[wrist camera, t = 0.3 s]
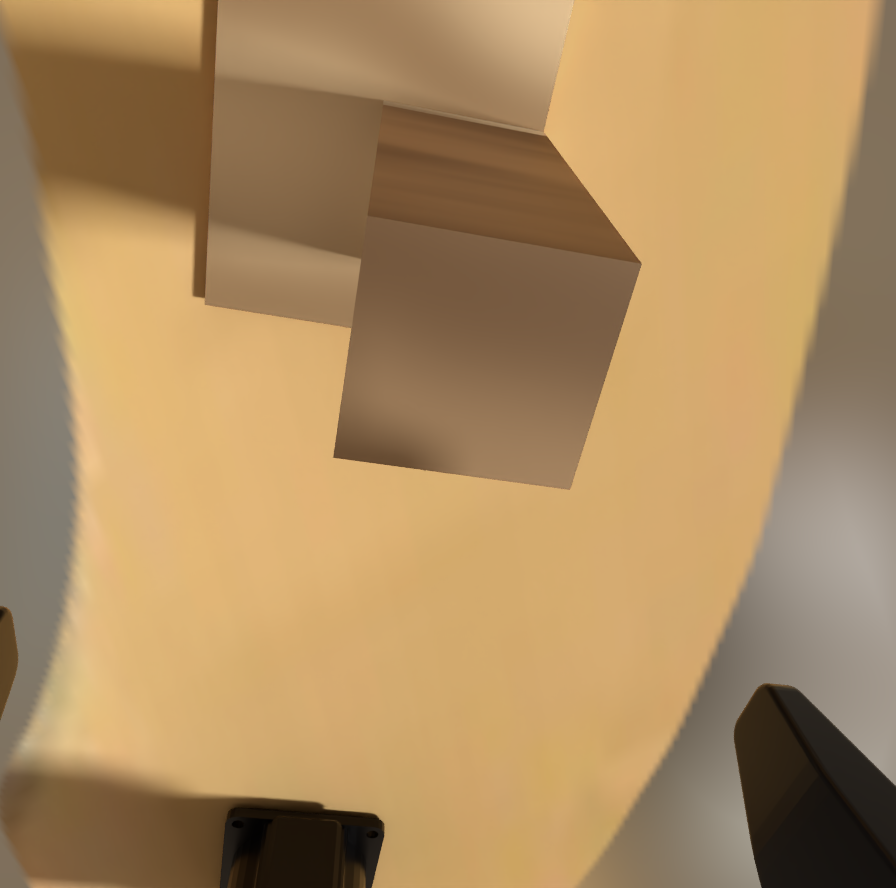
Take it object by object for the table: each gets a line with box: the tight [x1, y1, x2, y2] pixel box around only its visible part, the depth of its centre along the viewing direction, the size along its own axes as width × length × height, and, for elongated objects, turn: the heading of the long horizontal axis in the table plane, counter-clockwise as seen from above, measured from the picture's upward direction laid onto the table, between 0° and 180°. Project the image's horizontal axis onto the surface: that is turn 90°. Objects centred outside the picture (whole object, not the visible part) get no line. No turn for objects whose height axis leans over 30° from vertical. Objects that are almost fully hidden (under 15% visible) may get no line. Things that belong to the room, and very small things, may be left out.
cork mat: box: [205, 0, 574, 328], centre depth 20 cm, size 14×8×1 cm, turn 169°
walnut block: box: [333, 101, 641, 490], centre depth 17 cm, size 4×4×10 cm
